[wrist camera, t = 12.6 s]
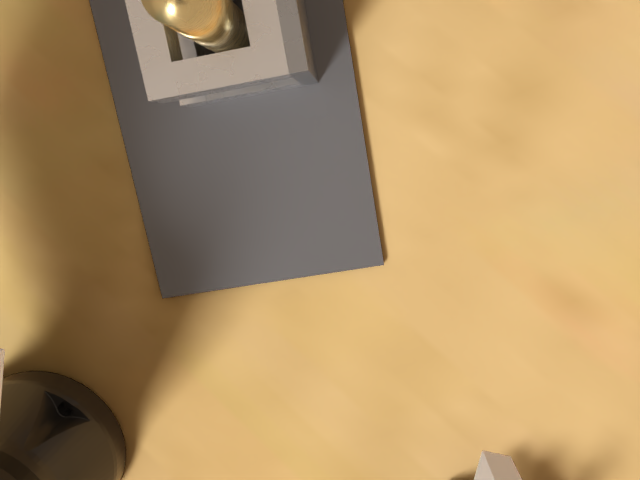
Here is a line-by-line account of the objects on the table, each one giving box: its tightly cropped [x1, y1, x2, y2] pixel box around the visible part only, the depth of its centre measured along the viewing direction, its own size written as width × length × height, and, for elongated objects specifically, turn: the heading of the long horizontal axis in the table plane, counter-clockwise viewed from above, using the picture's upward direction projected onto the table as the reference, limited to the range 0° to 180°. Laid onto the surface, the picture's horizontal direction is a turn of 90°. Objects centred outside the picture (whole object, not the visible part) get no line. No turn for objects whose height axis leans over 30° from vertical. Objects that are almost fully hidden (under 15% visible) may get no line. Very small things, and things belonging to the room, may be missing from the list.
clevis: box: [125, 0, 318, 107], centre depth 35 cm, size 10×9×8 cm
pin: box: [141, 0, 250, 53], centre depth 33 cm, size 4×4×13 cm
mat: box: [89, 0, 384, 298], centre depth 41 cm, size 19×25×1 cm
